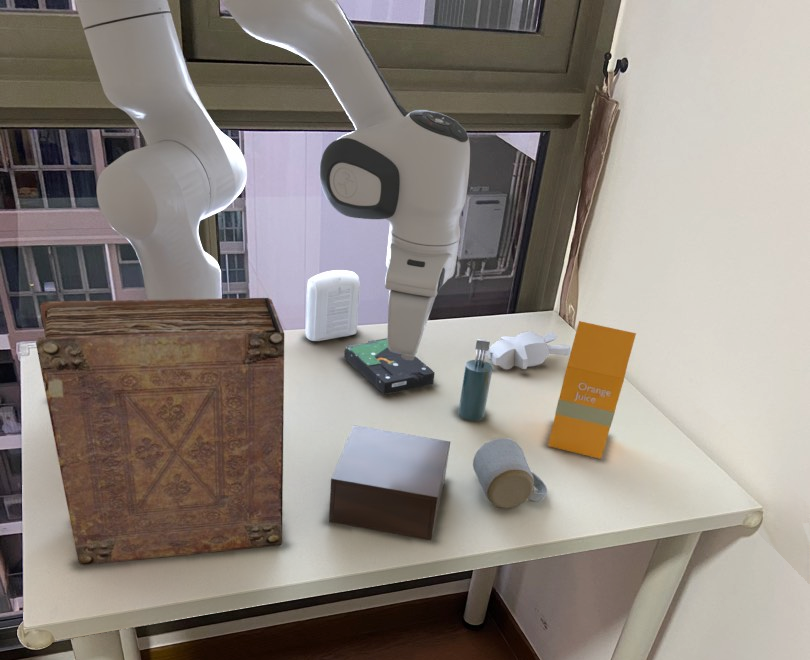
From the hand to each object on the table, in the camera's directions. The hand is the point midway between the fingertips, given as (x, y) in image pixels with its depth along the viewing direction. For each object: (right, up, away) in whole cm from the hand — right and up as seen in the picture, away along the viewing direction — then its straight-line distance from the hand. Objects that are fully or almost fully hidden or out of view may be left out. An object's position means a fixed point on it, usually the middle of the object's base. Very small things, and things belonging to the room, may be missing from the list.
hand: (409, 355), depth 115 cm
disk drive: (-4, +5, +35) cm, 36 cm away
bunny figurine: (+22, +8, +44) cm, 50 cm away
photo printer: (-15, +13, +45) cm, 49 cm away
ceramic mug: (+15, -19, +9) cm, 25 cm away
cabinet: (-3, -20, +5) cm, 21 cm away
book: (-30, -25, -5) cm, 39 cm away
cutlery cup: (+11, -4, +26) cm, 29 cm away
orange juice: (+28, -9, +23) cm, 37 cm away
